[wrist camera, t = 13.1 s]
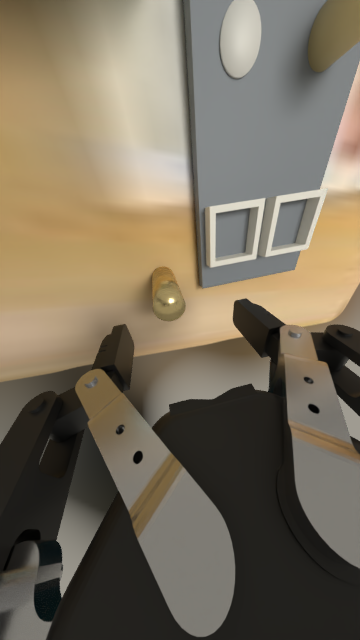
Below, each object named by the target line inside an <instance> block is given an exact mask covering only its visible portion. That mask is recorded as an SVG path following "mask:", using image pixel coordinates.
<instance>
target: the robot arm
mask: <svg viewBox="0 0 360 640" xmlns="http://www.w3.org/2000/svg"><path fill="white" fill-rule="evenodd" d="M233 322H234V325H235V326H236V328H237V329H238V330H239V331H240V332H241V334H242V335H243V336H244V337H245V338H246V340H247V341H248V342H249V343H250V344H251V346H252V347H253V348H254V349H255V350H256V352H257V353H258V354H259V355H260V357H262V358H263V357H267V356H269V357H270V358H271V359H270V370H269V389H268V392H266V391H261V390H255V389H254V387H253V386H252V384H248V385H244V386H240V387H236V388H233V389H230V390H229V391H227V392H225V393H223V394H222V395H220V396H218V397H217V398H215V399H212V400H203V399H199V400H198V399H189V400H186V401H181V402H177V403H174V404H170V405H169V407H170V408H169V409H170V412H168V413H166V414H165V415H164V416H162V417H161V418H160V419H159V420H158V421H157V422H156V423H155V424H154V426H153V427H152V429H151V427H150V426H149V425H148V424H147V423H146V421H145V420H144V419H143V418H142V416H141V415H140V414H139V413H138V411H137V410H136V409H135V408H134V406H133V405H132V404H131V403H130V402H129V400H128V399H127V398H126V397H125V396H124V394H123V391H125V390H129V389H130V382H131V373H132V364H133V355H134V343H133V340H132V337H131V335H130V333H129V330H128V328H127V326H126V325H125V324H123V325H118V326H114V327H113V330H112V333H111V334H110V335H107V336H106V337H105V339H104V340H103V341H102V343H101V346H100V349H99V351H98V352H99V353H98V354H97V356H96V359H95V362H94V364H93V367H92V369H91V371H89V372H87V373H86V374H85V375H83V376H82V377H81V378H80V379H79V380H78V382H77V384H76V387H74V388H72V389H70V390H68V391H66V392H64V393H62V394H60V395H57V394H56V393H55V392H53V391H48V392H44V393H41V394H39V395H38V396H36V397H35V398H34V399H32V400H31V401H30V402H28V403H27V404H26V405H25V407H24V408H23V409H22V411H21V412H20V414H19V416H18V417H17V419H16V420H15V422H14V423H13V425H12V427H11V428H10V430H9V431H8V433H7V435H6V436H5V438H4V440H3V441H2V443H1V444H0V640H360V441H358V440H357V439H355V438H353V437H351V436H350V435H349V432H348V428H347V425H346V422H345V419H344V416H343V412H342V409H341V406H340V403H339V400H338V397H337V395H338V396H339V397H340V398H341V399H343V401H344V402H345V403H346V404H347V405H348V406H350V408H352V409H353V410H354V411H355V412H356V413H357V414H358V415H359V416H360V377H359V376H357V375H356V374H355V373H354V372H352V371H351V370H350V369H349V368H347V367H346V366H345V364H346V363H347V361H348V360H349V359H350V360H351V361H353V362H354V363H355V364H357V365H358V366H360V331H358V330H356V329H354V328H351V327H348V326H344V325H330V326H328V327H327V328H326V330H325V331H324V333H310V332H309V331H308V330H306V329H305V328H302V327H300V326H296V325H286V324H284V323H283V322H282V321H280V320H279V319H278V318H276V317H275V316H274V315H272V314H271V313H270V312H268V311H266V309H264V308H263V307H262V306H259V305H257V304H253V303H251V302H250V301H249V300H248V299H241V300H236V301H235V302H234V311H233ZM87 427H89V428H90V431H91V433H92V435H93V437H94V439H95V441H96V443H97V445H98V447H99V450H100V452H101V454H102V456H103V458H104V460H105V462H106V464H107V467H108V469H109V471H110V473H111V475H112V477H113V479H114V481H115V484H116V486H117V488H118V492H117V494H116V496H115V498H114V500H113V502H112V503H111V505H110V507H109V509H108V511H107V513H106V515H105V517H104V519H103V521H102V522H101V524H100V527H99V528H98V530H97V532H96V534H95V536H94V538H93V540H92V541H91V544H90V545H89V547H88V549H87V551H86V553H85V555H84V557H83V559H82V561H81V563H80V565H79V566H78V568H77V570H76V572H75V574H74V576H73V578H72V580H71V581H70V583H69V585H68V587H67V589H66V591H65V593H64V595H63V597H61V593H60V580H61V577H62V571H63V565H62V549H61V546H60V544H59V543H58V542H57V541H56V540H57V536H58V532H59V528H60V524H61V520H62V516H63V512H64V508H65V504H66V500H67V497H68V493H69V488H70V485H71V481H72V477H73V473H74V469H75V465H76V461H77V457H78V454H79V449H80V446H81V442H82V438H83V434H84V430H85V428H87ZM48 438H50V440H49V443H48V445H47V447H46V450H45V452H44V455H43V457H42V460H41V462H40V465H39V461H40V458H41V455H42V453H43V450H44V448H45V446H46V443H47V441H48Z"/></svg>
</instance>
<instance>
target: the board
mask: <svg viewBox="0 0 360 640" xmlns="http://www.w3.org/2000/svg"><path fill="white" fill-rule="evenodd" d="M183 2H184V20H185V37H186V55H187V73H188V90H189V108H190V126H191V143H192V161H193V179H194V196H195V214H196V232H197V249H198V267H199V285H200V286H201V287H202V288H207V287H212V286H217V285H222V284H227V283H232V282H237V281H242V280H247V279H251V278H256V277H261V276H266V275H271V274H276V273H281V272H286V271H291V270H295V267H296V264H297V260H298V257H299V254H300V251H301V250H305V249H308V247H309V244H310V241H311V238H312V235H313V232H314V229H315V226H316V223H317V220H318V217H319V214H320V211H321V208H322V205H323V202H324V199H325V196H326V193H327V190H328V188H326V189H320V186H321V183H322V180H323V177H324V174H325V170H326V167H327V164H328V161H329V157H330V154H331V151H332V148H333V145H334V141H335V138H336V135H337V132H338V128H339V125H340V122H341V119H342V116H343V112H344V109H345V106H346V103H347V100H348V96H349V93H350V90H351V87H352V83H353V80H354V77H355V74H356V71H357V67H358V64H359V61H360V0H183Z"/></svg>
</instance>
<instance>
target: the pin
mask: <svg viewBox="0 0 360 640" xmlns="http://www.w3.org/2000/svg"><path fill="white" fill-rule="evenodd" d="M152 292H153V311H154V314H155V315H156V316H157V317H158V318H159V319H161V320H164V321H173V320H176V319H178V318H179V317H181V316H182V314H183V313H184V311H185V302H184V299H183V297H182V294H181V291H180V289H179V286H178V284H177V281H176V279H175V276H174V274H173V272H172V270H171V269H169V268H167V267H159V268H157V269H156V270H155V271H154V272H153V275H152Z"/></svg>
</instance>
